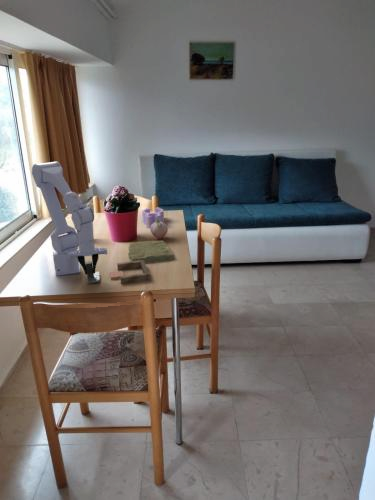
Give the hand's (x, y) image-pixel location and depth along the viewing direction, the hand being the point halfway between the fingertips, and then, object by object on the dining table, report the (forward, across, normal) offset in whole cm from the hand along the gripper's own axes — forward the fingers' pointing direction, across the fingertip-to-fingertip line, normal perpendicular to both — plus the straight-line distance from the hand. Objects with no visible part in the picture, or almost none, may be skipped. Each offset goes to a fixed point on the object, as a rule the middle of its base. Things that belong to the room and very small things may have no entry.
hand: (90, 273), depth 143 cm
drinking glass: (+3, 0, +50) cm, 50 cm away
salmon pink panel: (+3, +10, 0) cm, 11 cm away
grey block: (+3, +1, 0) cm, 3 cm away
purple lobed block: (+3, +37, +68) cm, 77 cm away
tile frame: (+3, +16, 0) cm, 16 cm away
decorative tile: (+4, +26, +20) cm, 33 cm away
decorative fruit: (+3, +35, +39) cm, 52 cm away
